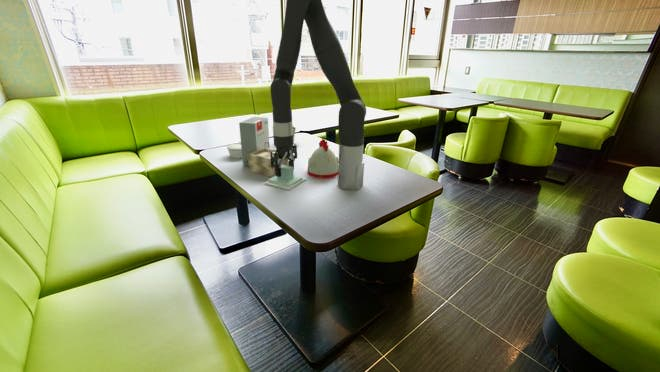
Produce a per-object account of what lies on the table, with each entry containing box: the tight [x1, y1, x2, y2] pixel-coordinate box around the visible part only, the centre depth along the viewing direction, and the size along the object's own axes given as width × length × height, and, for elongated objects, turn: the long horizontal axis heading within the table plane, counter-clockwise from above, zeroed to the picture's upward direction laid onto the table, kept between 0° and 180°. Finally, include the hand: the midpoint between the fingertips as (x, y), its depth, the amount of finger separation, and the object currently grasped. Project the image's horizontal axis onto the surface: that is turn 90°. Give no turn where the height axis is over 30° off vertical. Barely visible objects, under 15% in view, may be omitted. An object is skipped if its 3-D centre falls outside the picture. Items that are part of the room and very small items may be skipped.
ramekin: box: [227, 142, 242, 159], centre depth 150 cm, size 11×11×5 cm
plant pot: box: [293, 126, 297, 142], centre depth 172 cm, size 9×9×9 cm
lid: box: [267, 165, 303, 187], centre depth 120 cm, size 11×9×6 cm
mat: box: [263, 177, 307, 191], centre depth 121 cm, size 12×12×1 cm
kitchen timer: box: [307, 138, 339, 180], centre depth 129 cm, size 14×14×15 cm
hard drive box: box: [238, 116, 271, 167], centre depth 140 cm, size 16×8×20 cm, turn 168°
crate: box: [248, 148, 289, 178], centre depth 131 cm, size 13×11×8 cm
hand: (285, 173), depth 120 cm, fingers open, 8 cm apart
